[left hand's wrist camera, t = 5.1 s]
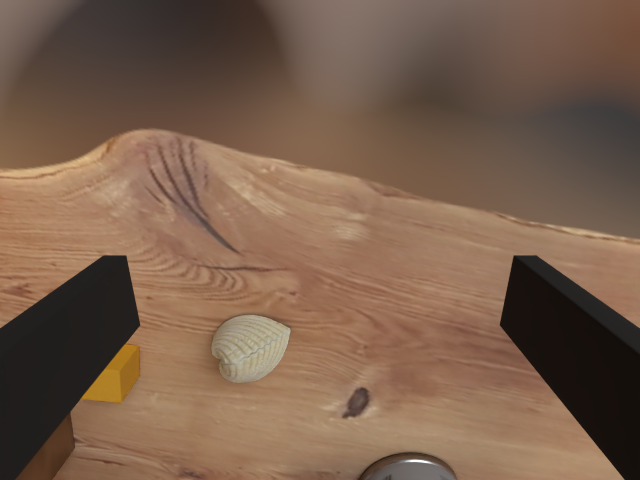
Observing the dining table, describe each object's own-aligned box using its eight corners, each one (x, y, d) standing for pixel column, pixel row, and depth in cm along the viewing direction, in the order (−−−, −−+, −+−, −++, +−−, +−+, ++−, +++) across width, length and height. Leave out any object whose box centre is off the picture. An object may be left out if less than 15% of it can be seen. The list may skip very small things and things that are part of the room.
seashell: (188, 335, 44) (224, 325, 38) (243, 311, 50) (280, 299, 45) (211, 401, 43) (251, 399, 38) (264, 368, 50) (304, 362, 44)
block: (100, 340, 47) (77, 366, 42) (139, 345, 47) (119, 371, 42) (102, 371, 48) (80, 398, 44) (139, 375, 49) (121, 403, 44)
